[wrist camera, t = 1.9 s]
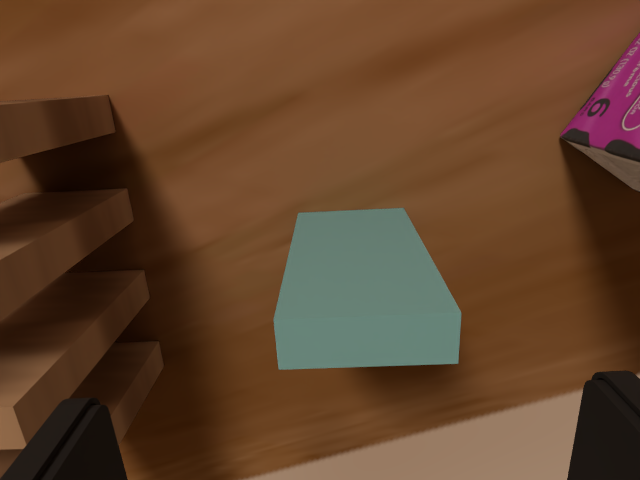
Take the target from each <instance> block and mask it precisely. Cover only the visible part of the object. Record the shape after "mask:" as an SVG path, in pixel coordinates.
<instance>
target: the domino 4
mask: <svg viewBox="0 0 640 480" xmlns="http://www.w3.org/2000/svg"><path fill="white" fill-rule="evenodd" d="M163 367H164V363H163V359H162V354H161V349H160V344H159V341H149V342H121V343H113V344H112V345H111V347H110V348H109V349H108V350H107V352H106V353H105V354H104V355H103V357H102V358H101V359H100V360H99V362H98V363H97V364H96V365H95V366H94V368H93V369H92V370H91V371H90V373H89V374H88V375H87V376H86V378H85V379H84V380H83V381H82V383H81V384H80V385H79V386H78V387H77V389H76V390H75V391H74V392H73V394H72V395H71V396H70V397H69V399H72V398H92V397H94V398H97V399H98V400H99V401H100V404H101V405H106V406H107V407H108V409H109V412H110V416H111V420H112V423H113V427H114V431H115V435H116V438H117V442H118V446H119V444H120V443H121V441H122V439H123V437H124V436H125V434H126V432H127V430H128V429H129V427H130V425H131V423H132V422H133V420H134V418H135V416H136V415H137V413H138V411H139V409H140V408H141V406H142V404H143V402H144V401H145V399H146V397H147V395H148V394H149V392H150V390H151V388H152V387H153V385H154V383H155V381H156V380H157V378H158V376H159V374H160V372H161V371H162V369H163ZM22 450H23V449H5V450H0V478H1V477H2V476H3V474H4V473H5V472H6V471H7V469H8V468H9V467H10V466H11V464H12V463H13V462H14V460H15V459H16V458H17V457H18V455H19V454H20V453H21V452H22Z"/></svg>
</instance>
